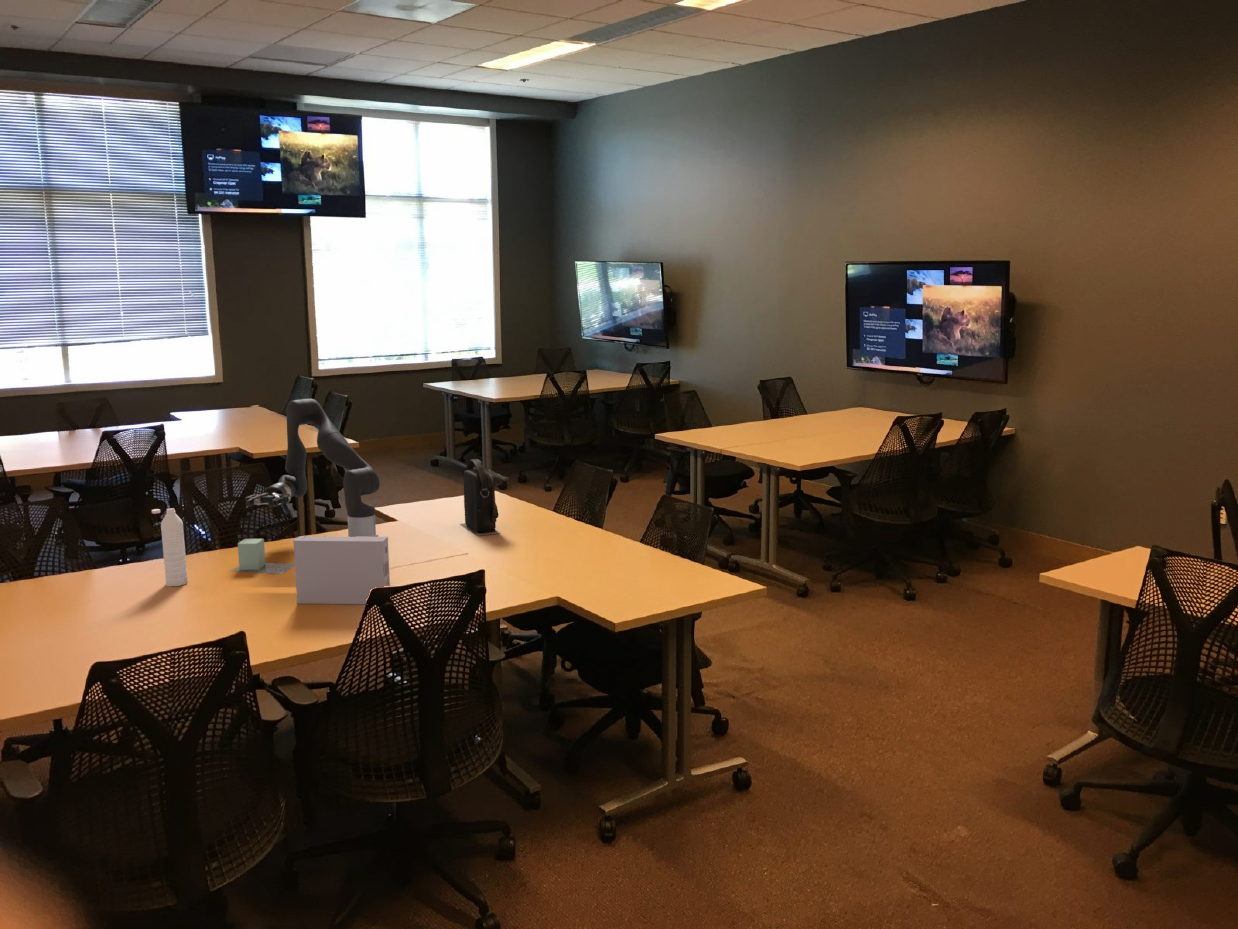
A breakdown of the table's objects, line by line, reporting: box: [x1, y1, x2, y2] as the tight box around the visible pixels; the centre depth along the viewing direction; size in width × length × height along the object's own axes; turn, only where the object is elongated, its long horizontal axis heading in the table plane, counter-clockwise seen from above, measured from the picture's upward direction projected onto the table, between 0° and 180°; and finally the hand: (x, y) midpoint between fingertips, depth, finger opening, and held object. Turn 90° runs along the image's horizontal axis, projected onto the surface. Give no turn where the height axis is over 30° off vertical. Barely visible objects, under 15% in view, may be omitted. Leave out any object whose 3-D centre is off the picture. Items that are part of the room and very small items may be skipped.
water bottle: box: [151, 507, 189, 587], centre depth 317 cm, size 9×6×25 cm
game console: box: [292, 535, 391, 605], centre depth 301 cm, size 6×27×20 cm, turn 88°
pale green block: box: [237, 538, 266, 570], centre depth 332 cm, size 6×6×9 cm
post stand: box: [231, 562, 295, 575], centre depth 332 cm, size 18×11×8 cm, turn 80°
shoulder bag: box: [459, 458, 501, 537], centre depth 389 cm, size 23×9×28 cm, turn 28°
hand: (260, 503), depth 340 cm, fingers open, 8 cm apart
